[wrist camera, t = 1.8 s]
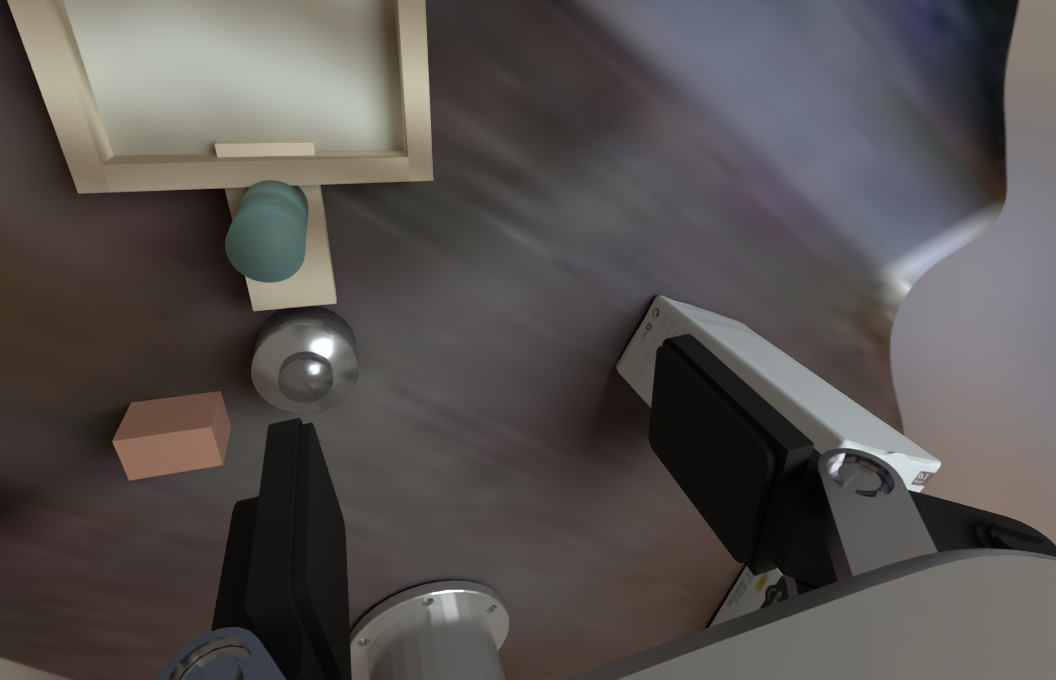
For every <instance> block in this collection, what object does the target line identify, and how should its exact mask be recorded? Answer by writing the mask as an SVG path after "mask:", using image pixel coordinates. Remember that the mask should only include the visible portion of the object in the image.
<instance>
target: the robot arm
mask: <svg viewBox="0 0 1056 680" xmlns="http://www.w3.org/2000/svg"><path fill="white" fill-rule="evenodd" d="M649 442H650V445H651V447H652V449H653V451H654V452H655V454H656V455H657V456H658V458H659V459H660V460H661V462H662V463H663V464H664V466H665V467H666V468H667V470H668V471H669V472H670V474H671V475H672V476H673V478H674V479H675V480H676V482H677V483H678V484H679V486H680V487H681V488H682V490H683V491H684V492H685V494H686V495H687V496H688V498H689V499H690V501H691V502H692V503H693V505H694V506H695V507H696V509H697V510H698V511H699V513H700V514H701V515H702V517H703V518H704V519H705V521H706V522H707V523H708V525H709V526H710V527H711V529H712V530H713V531H714V533H715V534H716V535H717V537H718V538H719V539H720V541H721V542H722V543H723V545H724V546H725V547H726V549H727V550H728V551H729V553H730V554H731V555H732V557H733V558H734V559H735V560H736V561H737V562H739V563H745V565H746V566H747V567H748V569H749V570H750V571H751V573H752V574H753V575H754V576H757V575H760V574H763V573H766V572H769V571H771V570H774V569H777V568H778V570H779V571H780V572H781V573H782V574H783V575H785V580H786V585H787V590H788V595H789V599H787V600H784V601H781V602H778V603H776V604H773V605H770V606H767V607H764V608H762V609H759V610H756V611H753V612H750V613H747V614H745V615H742V616H739V617H736V618H733V619H731V620H728V621H725V622H722V623H719V624H717V625H714V626H711V627H708V628H706V629H703V630H700V631H697V632H694V633H692V634H689V635H686V636H683V637H681V638H678V639H675V640H672V641H670V642H667V643H664V644H661V645H659V646H656V647H653V648H650V649H647V650H645V651H642V652H639V653H636V654H634V655H631V656H628V657H625V658H623V659H620V660H617V661H614V662H612V663H609V664H606V665H603V666H601V667H598V668H595V669H592V670H590V671H587V672H584V673H581V674H579V675H576V676H573V677H570V678H568V679H565V680H1056V546H1055V544H1054V543H1053V542H1052V541H1051V540H1050V539H1048V538H1047V537H1046V536H1044V535H1043V534H1042V533H1040V532H1039V531H1037V530H1035V529H1034V528H1032V527H1030V526H1028V525H1026V524H1024V523H1023V522H1020V521H1017V520H1015V519H1011V518H1009V517H1006V516H1003V515H999V514H995V513H991V512H988V511H984V510H980V509H977V508H973V507H969V506H966V505H962V504H959V503H955V502H951V501H948V500H944V499H941V498H937V497H933V496H930V495H926V494H922V493H919V492H915V491H911V490H908V489H907V487H906V485H905V483H904V481H903V479H902V478H901V476H900V475H899V473H898V472H897V471H896V470H895V469H894V468H893V467H892V466H891V465H890V464H888V463H887V462H886V461H884V460H882V459H881V458H879V457H877V456H875V455H873V454H870V453H867V452H865V451H862V450H857V449H851V448H836V449H832V450H828V451H827V452H825V453H824V454H821V453H819V452H818V451H817V450H816V449H815V448H814V443H813V442H812V441H811V440H810V439H809V438H808V437H806V436H805V435H804V434H803V433H802V432H801V431H800V430H799V429H797V428H796V427H795V426H794V425H793V424H792V423H791V422H790V421H788V420H787V419H786V418H785V417H784V416H783V415H782V414H781V413H779V412H778V411H777V410H776V409H775V408H774V407H773V406H772V405H770V404H769V403H768V402H767V401H766V400H765V399H764V398H762V397H761V396H760V395H759V394H758V393H757V392H756V391H755V390H753V389H752V388H751V387H750V386H749V385H748V384H747V383H746V382H744V381H743V380H742V379H741V378H740V377H739V376H738V375H737V374H735V373H734V372H733V371H732V370H731V369H730V368H729V367H727V366H726V365H725V364H724V363H723V362H722V361H721V360H720V359H718V358H717V357H716V356H715V355H714V354H713V353H712V352H711V351H709V350H708V349H707V348H706V347H705V346H704V345H703V344H702V343H700V342H699V341H698V340H697V339H696V338H695V337H694V336H692V335H691V334H684V335H680V336H675V337H670V338H666V339H665V340H664V341H663V343H662V346H659V347H658V348H657V351H656V360H655V370H654V381H653V392H652V402H651V413H650V424H649ZM508 630H509V615H508V612H507V609H506V606H505V603H504V601H503V600H502V598H501V597H500V595H499V594H497V593H496V592H495V591H494V590H492V589H491V588H488V587H486V586H484V585H482V584H478V583H474V582H469V581H456V580H451V581H439V582H433V583H429V584H424V585H420V586H417V587H414V588H411V589H408V590H405V591H403V592H401V593H399V594H397V595H394V596H392V597H390V598H389V599H387V600H385V601H384V602H382V603H381V604H379V605H377V606H376V607H375V608H374V609H372V610H371V611H370V612H369V613H368V614H366V615H365V616H364V617H363V618H362V619H361V620H360V622H359V623H358V624H357V625H356V626H355V627H354V629H353V631H352V633H351V634H350V626H349V603H348V580H347V556H346V533H345V525H344V519H343V515H342V512H341V509H340V506H339V503H338V499H337V496H336V493H335V490H334V487H333V484H332V481H331V478H330V475H329V471H328V468H327V465H326V462H325V459H324V456H323V453H322V450H321V446H320V443H319V440H318V437H317V434H316V431H315V428H314V425H313V423H308V424H303V423H302V421H301V419H300V418H296V419H292V420H287V421H283V422H278V423H273V424H270V425H269V426H268V432H267V439H266V447H265V454H264V462H263V470H262V477H261V485H260V493H259V496H258V497H254V498H250V499H245V500H241V501H237V503H236V504H235V505H234V509H233V512H232V518H231V523H230V529H229V535H228V540H227V546H226V551H225V557H224V562H223V568H222V574H221V579H220V585H219V590H218V596H217V601H216V607H215V613H214V618H213V624H212V629H211V632H208V633H206V634H204V635H202V636H200V637H199V638H197V639H195V640H193V641H192V642H190V643H189V644H187V645H186V646H185V647H184V648H183V649H182V650H180V651H179V652H178V653H177V654H176V655H175V656H174V657H173V658H172V659H171V660H170V662H169V663H168V664H167V665H166V667H165V668H164V669H163V670H162V672H161V674H160V676H159V678H158V680H505V677H504V673H503V669H502V666H501V662H500V658H499V655H498V650H499V648H500V647H501V646H502V644H503V643H504V641H505V638H506V636H507V634H508Z"/></svg>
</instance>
